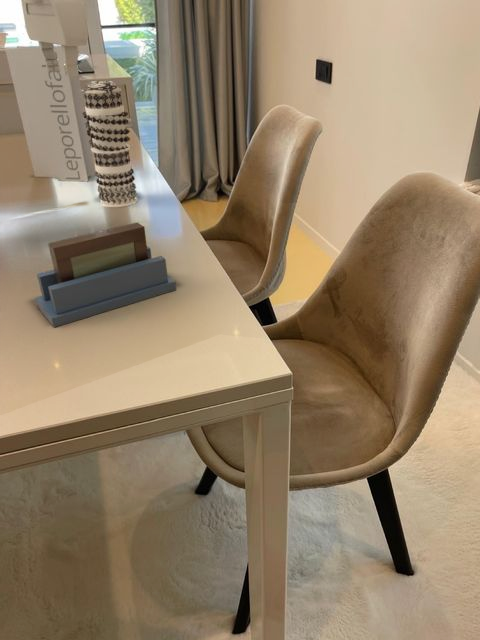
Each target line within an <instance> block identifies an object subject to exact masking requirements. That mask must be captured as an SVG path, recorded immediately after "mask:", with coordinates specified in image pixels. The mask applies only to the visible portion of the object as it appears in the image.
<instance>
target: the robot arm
mask: <svg viewBox="0 0 480 640" xmlns="http://www.w3.org/2000/svg"><path fill="white" fill-rule="evenodd" d="M21 7H22V14H23V20H24V25H25V30H26V33H27V36H28V38H29V40H31V41H36V42H38V46H39V47H40V50H41V53H42V55H43V57H44V60H45V64H46V68H47V70H48V71H52V72H53V71H58V70H59V66H58V60H57V59H56V57H55V53H54V49H53V48H54V45H57V46H61V47H62V52H63V53H64V61H65V64H63V65H64V70H65V74H66V75H67V76H69V77H76V76H78V74H79V68H78V67H79V66H78V61H79V49H78V47H79V46H86V45H87V44H88V38H89V28H88V21H87V20H88V19H87V12H86V4H85V0H21ZM79 75H80V74H79Z"/></svg>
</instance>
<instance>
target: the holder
mask: <svg viewBox="0 0 480 640" xmlns="http://www.w3.org/2000/svg"><path fill="white" fill-rule="evenodd" d="M147 252H148V260H144V261H140V262H137V263H133V264H129V265H125V266H122V267H118V268H114V269H111V270H107V271H103V272H100V273H96V274H92V275H89V276H85V277H81V278H78V279H74V280H70V281H66V282H63V283H59V284H57V279H56V275H55V271H54V268H53V269H49V270H46V271H42V272H37V273H36V277H37V281H38V285H39V289H40V292H41V293H40V294H41V295H40V296H37V297H35V298H34V301H35V305H36V307H37V309H38V310H39V311H40V312H41V313H42V315H43V316H44V318H45V319H46V320H47V321H48V322H49V324H51V326H52V327H53V328H57V327H60V326H64V325H66V324H70V323H73V322H76V321H79V320H83V319H87V318H89V317H92V316H96V315H99V314H102V313H105V312H108V311H113V310H115V309H118V308H122V307H125V306H128V305H131V304H134V303H138V302H141V301H144V300H148V299H151V298H154V297H158V296H160V295H164V294H167V293H170V292H173V291H176V290H177V283H176V280H175V279H173V278H172V277H170V276H169V275H168V269H167V261H166V258H165V257H164V256H162V255H159V256H155V257H152V250H151V247H149V246H148V245H147Z"/></svg>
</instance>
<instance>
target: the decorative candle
mask: <svg viewBox="0 0 480 640" xmlns="http://www.w3.org/2000/svg"><path fill="white" fill-rule="evenodd" d="M81 91H82V94H83V96H84V104H85V105H84V109H85V112H84V113H83V117H84V118H86V120H87V122H86V123H85V126H86V128H87V129H88V130H87V135H88V136H89V137H90V140H89V143H90V145H91V151H92V153H93V159H94V166H95V176H94V177H97V178H96V184H98V186H97V192H98V198H99V200H100V201H99V203H100V205H101V206H102V207H105V208H125V207H130V206H133V205H135V204H136V203H137V202H138V198H137V195H138V193H137V190H136V189H137V185H136V183H135V182H134V181H135V180H136V178H135V175H133V174H134V173H135V170H134V169H133V166H132V161H131V157H130V149H131V145H130V144H129V142H130V140H131V138H130V137H129V136H128V134H129V133H130V129H128V128H127V127H126V125H127V124H129V119H127V118H126V117H128V115H129V112H128V111H126V110H125V107H124V106H125V105H124V104H123V99H122V98H123V97H122V92H121V91H122V88H120V87H119V86H118V85H117V84H116V83H115V82H114V81H111V80H93V81H89V82H87V83H86V84H85V86H84V89H82V90H81Z"/></svg>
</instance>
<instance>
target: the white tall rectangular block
mask: <svg viewBox="0 0 480 640" xmlns="http://www.w3.org/2000/svg"><path fill="white" fill-rule="evenodd" d="M53 49H54V53H55V57H56V59H57V60H58V66H59V70H58V71H53V72H52V71H48V70H47V68H46V64H45V60H44V57H43V55H42V53H41V50H40V47H39V45H38V46H37V45H36V46H33V45H32V46H31V45H27V46H25V45H22V46H20V45H19V46H18V45H17V46H16V47H11V48H9V47H8V48H5V49H4V50H5V55H6V58H7V63H8V67H9V71H10V76H11V80H12V85H13V88H14V93H15V98H16V101H17V106H18V111H19V114H20V118H21V119H20V120H21V123H22V127H23V128H22V129H23V132H24V136H25V140H26V144H27V149H28V153H29V158H30V162H31V166H32V170H33V171H32V172H33V174H34V177H35V178H54V179H56V180H57V181H59V182H89V177H96V176H95V172H96V168H95V160H94V154H93V152H92V151H91V147H92V146H91V145H90V143H89V140H90V139H91V137H90V136H88V135H87V130H88V129H87V128H86V126H85V123H86V122H87V119H86V118H84V117H83V113H84V112H86V110H85V102H84V98H83V92H82V91H83V90H82V85H81V79H80V74H78V76H76V77H69V76H67V75H66V74H65V70H64V65H63V64H65V61H64V53H63V52H62V47H61V45H57V46H54V48H53Z"/></svg>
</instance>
